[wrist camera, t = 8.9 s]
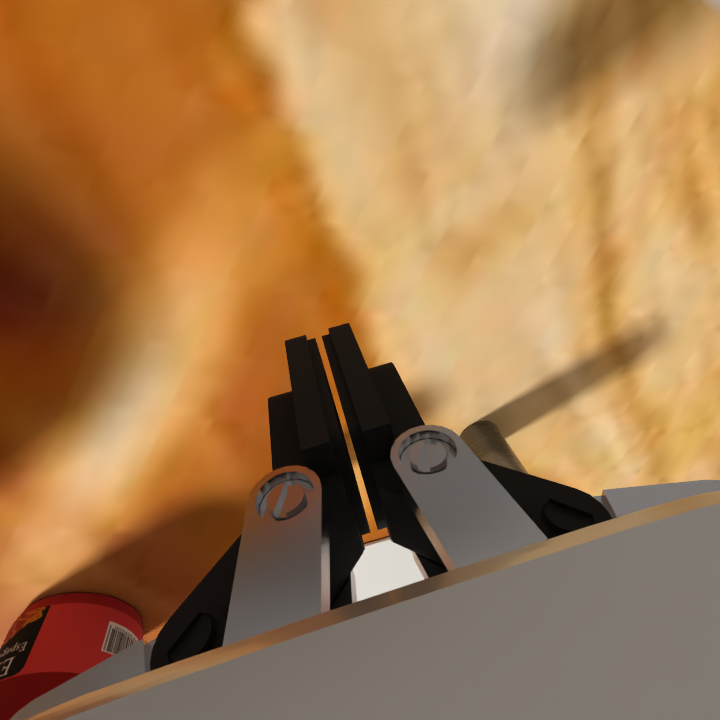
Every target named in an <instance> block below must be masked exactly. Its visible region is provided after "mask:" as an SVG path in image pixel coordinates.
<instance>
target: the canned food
mask: <svg viewBox="0 0 720 720" xmlns="http://www.w3.org/2000/svg"><path fill="white" fill-rule="evenodd" d="M142 639H143V627H142V620H141V617H140V615H139V614H138V613H137V611H136V610H135V609H134V608H132V607H131V606H130V605H128V604H127V603H125V602H123V601H121V600H119V599H116V598H113V597H110V596H106V595H101V594H95V593H66V594H60V595H55V596H51V597H48V598H45V599H42V600H39V601H37V602H36V603H34V604H32V605H30V606H29V607H28V608H27V609H26V610H25V611H24V612H23V613H22V614H21V615H20V616H19V617H18V618H17V620H16V621H15V622H14V623H13V625H12V626H11V628H10V630H9V632H8V634H7V636H6V638H5V640H4V642H3V644H2V646H1V648H0V720H10V719H11V718H12V717H13V716H14V715H15V714H16V713H17V712H18V711H19V710H20V709H22V708H23V707H25V706H26V705H27V704H29V703H30V702H31V701H33V700H34V699H36V698H38V697H40V696H42V695H43V694H45V693H47V692H49V691H51V690H52V689H54V688H56V687H58V686H59V685H61V684H63V683H65V682H67V681H68V680H70V679H72V678H74V677H76V676H77V675H79V674H81V673H83V672H85V671H86V670H88V669H90V668H92V667H93V666H95V665H97V664H99V663H101V662H102V661H104V660H106V659H108V658H110V657H111V656H113V655H115V654H117V653H119V652H120V651H122V650H124V649H126V648H128V647H129V646H131V645H133V644H135V643H136V642H138V641H140V640H142Z"/></svg>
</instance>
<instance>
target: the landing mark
mask: <svg viewBox="0 0 720 720" xmlns="http://www.w3.org/2000/svg"><path fill="white" fill-rule="evenodd" d="M364 547H365V550H364V552H363V554H362V555H361V557H360V559H359V560H358V562H357V564H356V565H355V567H354V568H353V570H354V575H355V579H356V595H357V602H358V601H361V600H364V599H367V598H370V597H373V596H376V595H379V594H382V593H385V592H388V591H391V590H394V589H397V588H400V587H403V586H406V585H409V584H412V583H415V582H418V581H421V580H424V577H423V575H422V574H421V572H420V570H419V568H418V566H417V564H416V562H415V561H414V558H413V555H412V552H411V550H409V549H407V548H404V547H402V546H400V545H398V544H396V543H393V541H391V539H390V537H388V538H384V539H381V540H377V541H373V542H370V543H366V544H364Z"/></svg>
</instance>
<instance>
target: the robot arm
mask: <svg viewBox="0 0 720 720" xmlns="http://www.w3.org/2000/svg"><path fill="white" fill-rule="evenodd" d="M328 330H329V334H328V335H324V336H322V339H323V342H324V346H325V349H326V353H327V356H328V360H329V363H330V367H331V370H332V374H333V377H334V381H335V384H336V388H337V391H338V395H339V398H340V402H341V405H342V409H343V412H344V416H345V419H346V422H347V426H348V429H349V433H350V436H351V440H352V443H353V446H354V450H355V453H356V457H357V460H358V464H359V467H360V470H361V474H362V477H363V481H364V484H365V487H366V491H367V494H368V498H369V501H370V505H371V508H372V511H373V515H374V518H375V522H376V525H377V529H378V530H379V529H383V528H386V527H387V529H388V533H389V536H390V539H391V541H393V543H396V544H398V545H400V546H402V547H404V548H407V549H409V550H411V552H412V555H413V558H414V561H415V562H416V564H417V566H418V568H419V570H420V572H421V574H422V575H423V577H424V580H421V581H418V582H415V583H412V584H409V585H406V586H403V587H400V588H397V589H394V590H391V591H388V592H385V593H382V594H379V595H376V596H373V597H370V598H367V599H364V600H361V601H358V602H357V595H356V579H355V575H354V570H353V568H354V567H355V565H356V564H357V562H358V560H359V559H360V557H361V555H362V554H363V552H364V550H365V547H364V543H363V539H362V535H364V534H367V533H370V529H369V525H368V521H367V518H366V514H365V511H364V507H363V503H362V500H361V496H360V492H359V489H358V485H357V481H356V478H355V474H354V470H353V467H352V463H351V459H350V456H349V452H348V449H347V445H346V441H345V438H344V434H343V430H342V427H341V423H340V420H339V416H338V413H337V410H336V406H335V403H334V399H333V396H332V393H331V389H330V386H329V383H328V379H327V376H326V373H325V369H324V366H323V362H322V359H321V356H320V352H319V349H318V346H317V342H316V339H315V338H314V339H310V340H307V337H306V335H304V336H300V337H297V338H293V339H290V340H286V341H285V346H286V353H287V360H288V366H289V373H290V380H291V387H292V391H290V392H287V393H284V394H280V395H277V396H273V397H270V398H269V399H268V409H269V424H270V438H271V453H272V468H273V471H272V472H271V473H269V474H267V475H266V476H264V477H263V478H262V479H261V480H260V481H259V482H258V483H257V484H256V485H255V487H254V488H253V490H252V491H251V493H250V496H249V499H248V501H247V507H246V513H245V518H244V524H243V530H242V534H241V535H240V537H239V538H238V539H237V540H236V541H235V542H234V544H233V545H232V546H231V547H230V548H229V549H228V551H227V552H226V553H225V554H224V555H223V557H222V558H221V559H220V560H219V561H218V562H217V564H216V565H215V566H214V567H213V568H212V569H211V571H210V572H209V573H208V574H207V575H206V576H205V578H204V579H203V580H202V581H201V582H200V583H199V585H198V586H197V587H196V588H195V589H194V590H193V592H192V593H191V594H190V595H189V596H188V597H187V599H186V600H185V601H184V602H183V603H182V605H181V606H180V607H179V608H178V609H177V610H176V612H175V613H174V614H173V615H172V616H171V617H170V619H169V620H168V621H167V623H166V624H165V625H164V627H163V628H162V630H161V631H160V633H159V634H158V637H157V638H156V639H154V640H152V641H151V642H149V643H147V642H146V641H145V640H144V639H142V640H140V641H138V642H136V643H135V644H133V645H131V646H129V647H128V648H126V649H124V650H122V651H120V652H119V653H117V654H115V655H113V656H111V657H110V658H108V659H106V660H104V661H102V662H101V663H99V664H97V665H95V666H93V667H92V668H90V669H88V670H86V671H85V672H83V673H81V674H79V675H77V676H76V677H74V678H72V679H70V680H68V681H67V682H65V683H63V684H61V685H59V686H58V687H56V688H54V689H52V690H51V691H49V692H47V693H45V694H43V695H42V696H40V697H38V698H36V699H34V700H33V701H31V702H30V703H29V704H27V705H26V706H25V707H23V708H22V709H20V710H19V711H18V712H17V713H16V714H15V715H14V716H13V717H12V718H11V719H10V720H720V480H699V481H689V482H679V483H668V484H658V485H648V486H638V487H628V488H618V489H608V490H603V492H602V496H594V497H592V496H591V495H589V494H587V493H585V492H583V491H580V490H578V489H575V488H572V487H569V486H565V485H562V484H559V483H556V482H552V481H549V480H546V479H542V478H539V477H536V476H533V475H529V474H526V473H523V472H519V471H516V470H513V469H509V468H506V467H503V466H500V465H496V464H493V463H490V462H486V461H483V460H480V459H478V457H477V456H476V455H475V454H474V453H473V452H472V450H471V449H470V448H469V447H468V446H467V445H466V443H465V442H464V441H463V440H462V439H461V438H460V437H459V436H458V435H457V434H456V433H455V432H453V431H452V430H450V429H447V428H445V427H442V426H436V425H425V424H424V422H423V420H422V418H421V416H420V414H419V412H418V411H417V409H416V407H415V405H414V403H413V401H412V399H411V397H410V395H409V393H408V391H407V389H406V387H405V385H404V383H403V382H402V380H401V378H400V376H399V374H398V372H397V370H396V368H395V366H394V364H393V363H392V362H390V363H387V364H383V365H380V366H377V367H373V368H370V369H368V367H367V365H366V363H365V360H364V358H363V356H362V353H361V351H360V348H359V346H358V344H357V341H356V339H355V336H354V334H353V332H352V329H351V327H350V325H349V323H346V324H343V325H339V326H336V327H332V328H329V329H328Z"/></svg>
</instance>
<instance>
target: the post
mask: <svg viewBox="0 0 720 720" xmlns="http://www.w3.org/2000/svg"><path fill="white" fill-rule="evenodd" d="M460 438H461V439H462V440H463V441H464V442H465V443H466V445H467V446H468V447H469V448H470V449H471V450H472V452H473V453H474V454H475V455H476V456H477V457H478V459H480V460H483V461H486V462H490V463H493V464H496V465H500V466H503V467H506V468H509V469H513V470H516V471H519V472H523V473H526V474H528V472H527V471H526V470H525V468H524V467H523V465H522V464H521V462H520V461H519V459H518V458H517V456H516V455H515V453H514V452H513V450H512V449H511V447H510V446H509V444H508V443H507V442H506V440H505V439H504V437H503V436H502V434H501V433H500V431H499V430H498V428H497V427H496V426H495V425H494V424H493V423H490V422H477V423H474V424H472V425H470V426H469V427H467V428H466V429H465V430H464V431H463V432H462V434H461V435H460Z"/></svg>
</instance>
